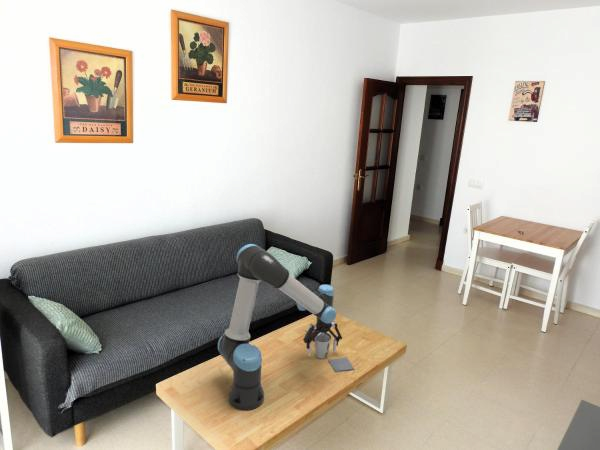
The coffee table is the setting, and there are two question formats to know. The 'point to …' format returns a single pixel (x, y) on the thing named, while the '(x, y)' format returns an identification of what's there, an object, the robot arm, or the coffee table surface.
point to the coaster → (341, 364)
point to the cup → (322, 345)
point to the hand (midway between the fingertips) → (321, 352)
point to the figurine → (319, 333)
